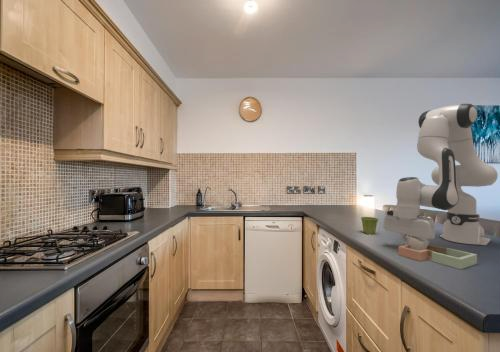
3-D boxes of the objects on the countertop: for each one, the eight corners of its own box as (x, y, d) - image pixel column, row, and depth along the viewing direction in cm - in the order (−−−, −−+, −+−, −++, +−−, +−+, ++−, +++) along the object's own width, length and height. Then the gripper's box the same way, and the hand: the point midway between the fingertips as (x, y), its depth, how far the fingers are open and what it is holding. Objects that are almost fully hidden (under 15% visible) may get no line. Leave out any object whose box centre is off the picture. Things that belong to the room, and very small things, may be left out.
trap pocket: (405, 253, 102) (405, 244, 102) (427, 259, 95) (427, 250, 95) (398, 254, 100) (398, 246, 100) (420, 261, 93) (420, 252, 93)
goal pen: (447, 256, 99) (447, 247, 99) (477, 263, 90) (477, 254, 90) (431, 261, 93) (431, 252, 93) (460, 269, 85) (461, 259, 85)
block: (412, 246, 107) (417, 235, 105) (424, 253, 103) (429, 241, 101) (406, 248, 104) (410, 237, 103) (418, 254, 100) (422, 243, 99)
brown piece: (415, 248, 109) (415, 241, 109) (446, 256, 98) (446, 248, 98) (401, 251, 104) (401, 243, 104) (432, 260, 93) (432, 251, 93)
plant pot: (375, 231, 143) (376, 217, 143) (380, 235, 133) (380, 219, 133) (358, 230, 145) (359, 216, 145) (362, 234, 135) (362, 219, 136)
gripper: (438, 216, 99) (437, 250, 99) (390, 210, 117) (389, 238, 117) (429, 217, 96) (429, 252, 96) (381, 210, 114) (381, 240, 114)
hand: (407, 244), depth 107 cm, fingers closed
